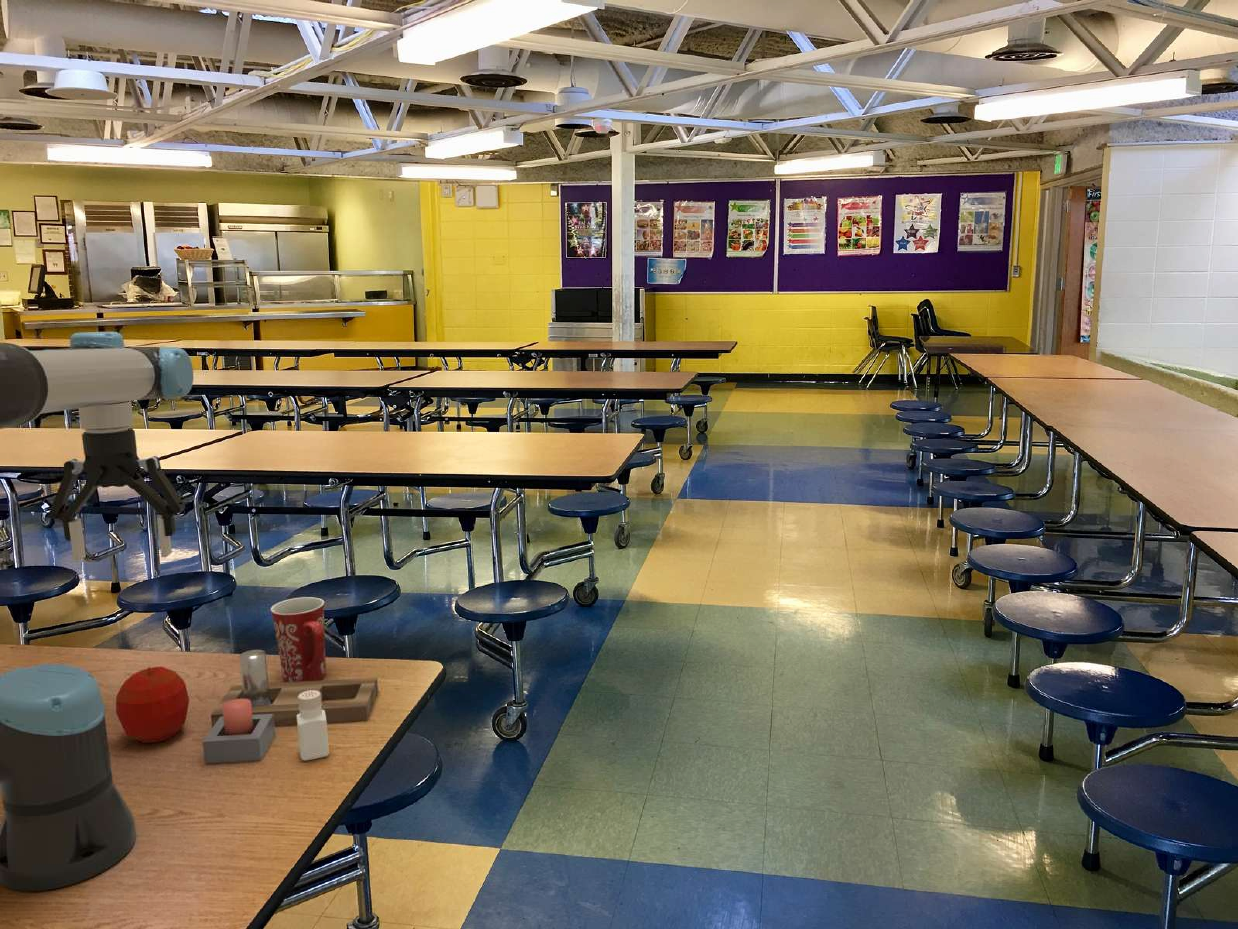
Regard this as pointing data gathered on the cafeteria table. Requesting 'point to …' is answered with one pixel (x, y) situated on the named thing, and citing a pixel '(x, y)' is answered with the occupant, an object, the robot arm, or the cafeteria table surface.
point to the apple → (152, 704)
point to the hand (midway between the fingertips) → (123, 557)
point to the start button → (238, 717)
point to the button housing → (239, 741)
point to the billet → (255, 677)
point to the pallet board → (343, 711)
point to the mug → (300, 638)
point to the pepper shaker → (312, 726)
